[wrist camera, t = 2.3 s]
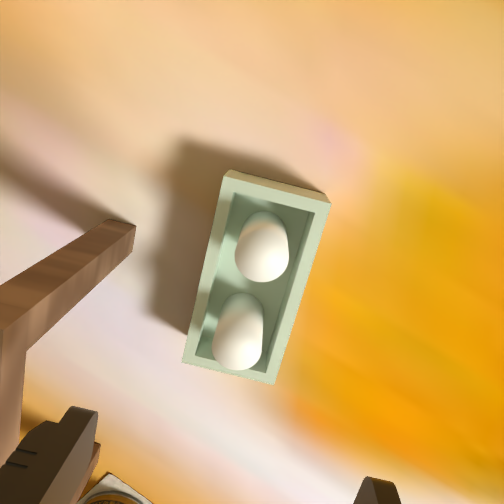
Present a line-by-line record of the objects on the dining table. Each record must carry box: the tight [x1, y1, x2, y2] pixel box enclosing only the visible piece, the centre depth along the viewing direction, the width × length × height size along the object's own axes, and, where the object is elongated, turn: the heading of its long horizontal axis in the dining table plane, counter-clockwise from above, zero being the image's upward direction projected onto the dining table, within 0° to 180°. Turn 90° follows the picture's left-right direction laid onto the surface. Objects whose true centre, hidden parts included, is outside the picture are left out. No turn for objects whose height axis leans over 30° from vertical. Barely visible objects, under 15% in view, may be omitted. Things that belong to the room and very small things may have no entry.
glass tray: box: [182, 169, 331, 385], centre depth 24 cm, size 12×6×5 cm, turn 166°
